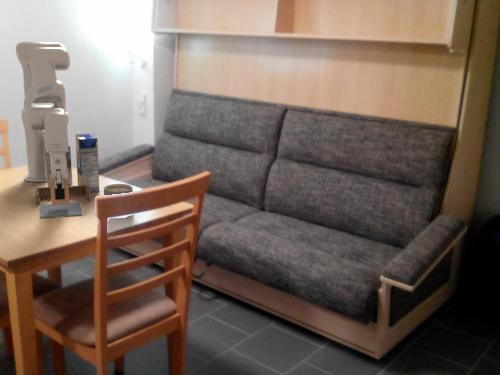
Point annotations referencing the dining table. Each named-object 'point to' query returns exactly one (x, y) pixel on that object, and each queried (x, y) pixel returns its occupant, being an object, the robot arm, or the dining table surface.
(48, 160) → the coffee box
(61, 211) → the mat
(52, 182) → the block
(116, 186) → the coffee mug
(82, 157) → the beverage box
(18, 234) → the dining table surface
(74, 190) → the frame
